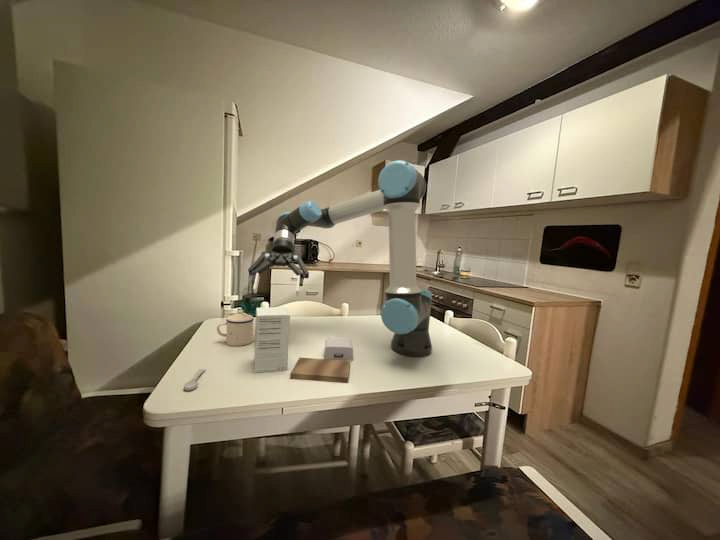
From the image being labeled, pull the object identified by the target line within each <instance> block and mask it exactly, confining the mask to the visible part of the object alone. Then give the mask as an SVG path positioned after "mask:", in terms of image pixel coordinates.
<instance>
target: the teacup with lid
mask: <svg viewBox="0 0 720 540" xmlns="http://www.w3.org/2000/svg"><path fill="white" fill-rule="evenodd" d="M225 320H226V321H225V322H221V323H219V324H218V325H217V326H216V332H217V334H218V335H219V336H221V337H226V339H225V340H226V341H225V342H226V344H227V345H229V346H232V347H243V346H247V345H249V344H251V343H252V342H253V331H254V330H253V329H254V328H253V326H254V316H253V315H251V314H248V313H246V312H244V310H243V309H238V310H237V312H235V313H233V314H231V315H228V316H227V317H226V319H225ZM221 326H226V333H222V332H221V331H220V327H221Z"/></svg>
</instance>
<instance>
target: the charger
mask: <svg viewBox="0 0 720 540" xmlns="http://www.w3.org/2000/svg"><path fill="white" fill-rule="evenodd" d="M324 341H325V342H324V354H323V355H324V356H323V358H324V359H327V360H341V361H350V362H351V361H353V359H354V358H353V355H354V348H353V341H352V339H351V338H349V337H346V338H345V337H327V338H325V340H324Z"/></svg>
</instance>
